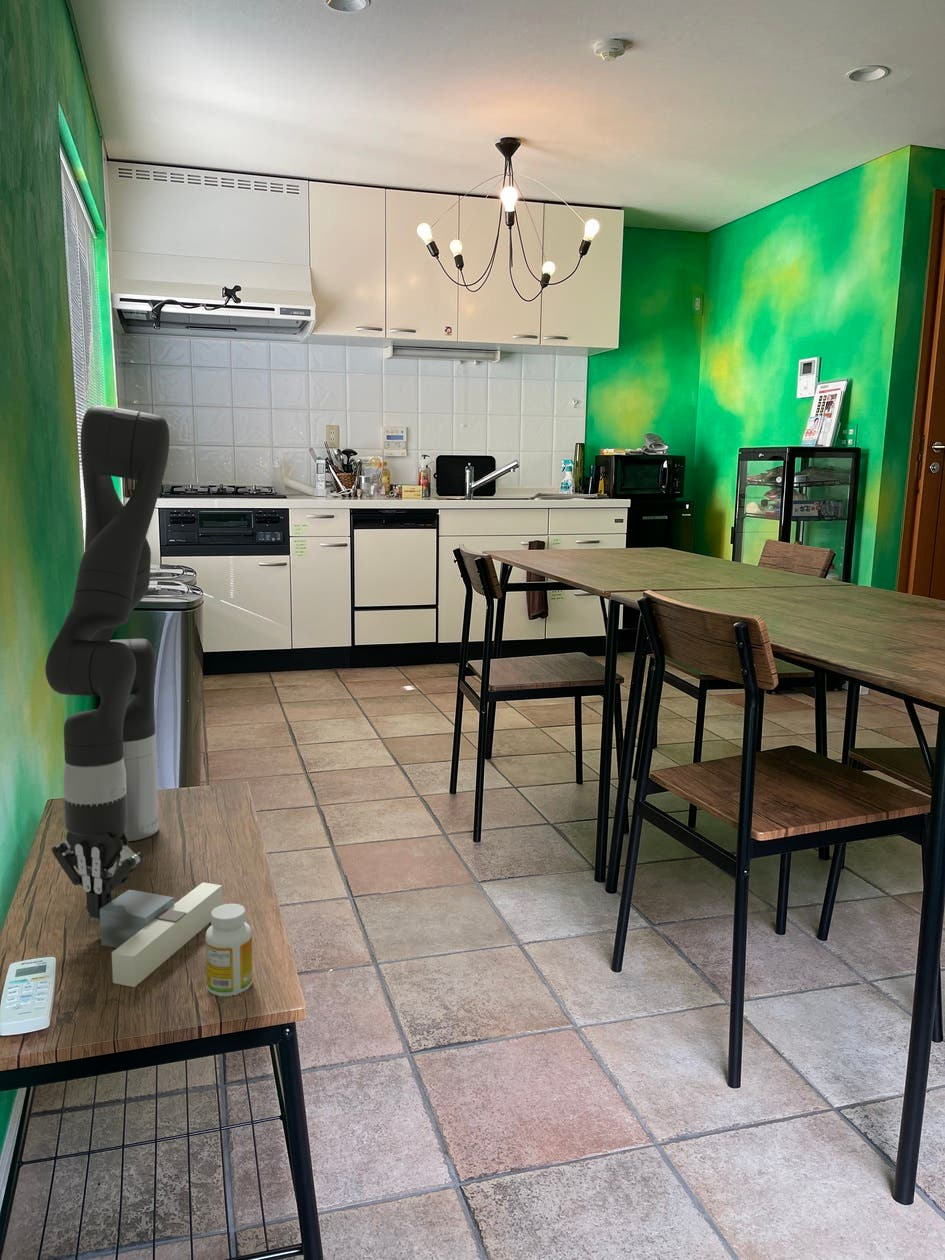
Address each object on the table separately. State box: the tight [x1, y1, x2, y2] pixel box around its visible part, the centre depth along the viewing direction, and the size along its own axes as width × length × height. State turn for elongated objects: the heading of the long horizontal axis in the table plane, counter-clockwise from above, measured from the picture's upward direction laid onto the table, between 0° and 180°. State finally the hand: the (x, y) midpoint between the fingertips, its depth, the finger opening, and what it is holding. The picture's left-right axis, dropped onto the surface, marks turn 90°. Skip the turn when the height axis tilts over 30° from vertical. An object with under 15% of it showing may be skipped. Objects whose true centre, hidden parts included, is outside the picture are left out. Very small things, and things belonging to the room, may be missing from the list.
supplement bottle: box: [205, 903, 253, 997], centre depth 110 cm, size 5×5×10 cm
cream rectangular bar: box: [111, 882, 223, 988], centre depth 120 cm, size 3×20×4 cm, turn 164°
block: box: [99, 889, 175, 949], centre depth 121 cm, size 7×6×5 cm
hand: (99, 915), depth 122 cm, fingers closed
